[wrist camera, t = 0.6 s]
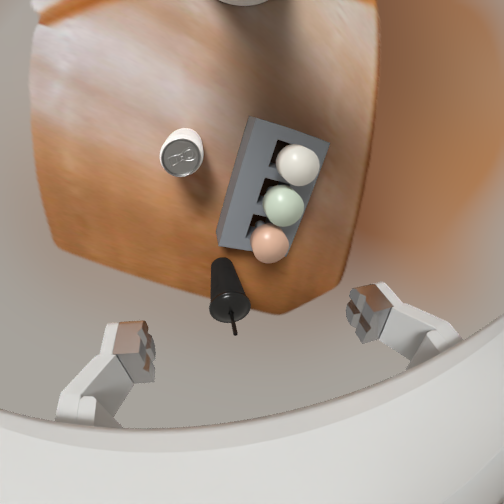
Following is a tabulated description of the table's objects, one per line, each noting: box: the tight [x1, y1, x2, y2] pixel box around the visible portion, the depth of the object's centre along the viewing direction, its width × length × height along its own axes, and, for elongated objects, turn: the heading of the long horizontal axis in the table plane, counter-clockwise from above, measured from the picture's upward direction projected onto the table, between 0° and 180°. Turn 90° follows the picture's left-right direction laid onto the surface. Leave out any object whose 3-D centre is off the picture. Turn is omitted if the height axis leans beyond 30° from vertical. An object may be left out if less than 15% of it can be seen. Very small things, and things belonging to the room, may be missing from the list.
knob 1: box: [250, 220, 289, 263], centre depth 48 cm, size 6×6×8 cm
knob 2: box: [276, 144, 320, 186], centre depth 42 cm, size 6×6×8 cm
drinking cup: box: [209, 258, 251, 336], centre depth 52 cm, size 8×8×20 cm
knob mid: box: [262, 185, 304, 227], centre depth 45 cm, size 6×6×8 cm
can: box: [160, 128, 203, 177], centre depth 40 cm, size 6×6×12 cm
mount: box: [216, 116, 330, 256], centre depth 50 cm, size 24×14×6 cm, turn 163°
